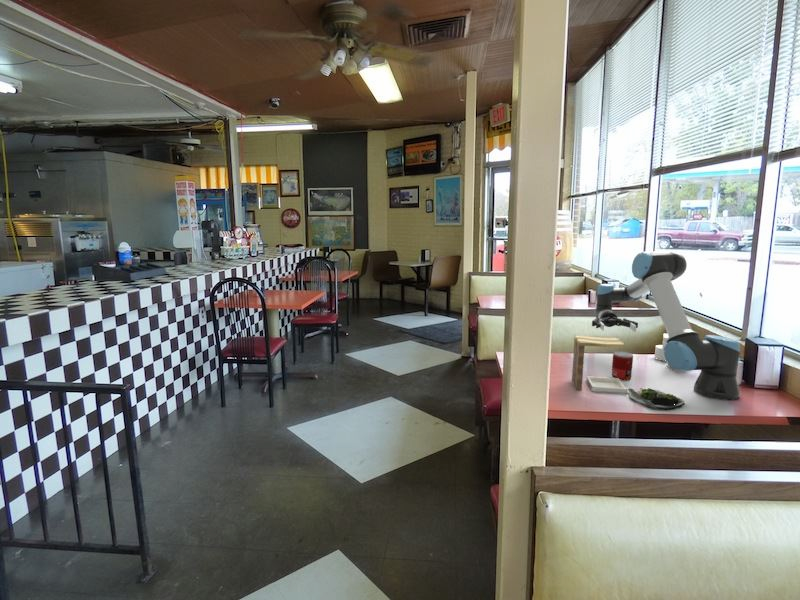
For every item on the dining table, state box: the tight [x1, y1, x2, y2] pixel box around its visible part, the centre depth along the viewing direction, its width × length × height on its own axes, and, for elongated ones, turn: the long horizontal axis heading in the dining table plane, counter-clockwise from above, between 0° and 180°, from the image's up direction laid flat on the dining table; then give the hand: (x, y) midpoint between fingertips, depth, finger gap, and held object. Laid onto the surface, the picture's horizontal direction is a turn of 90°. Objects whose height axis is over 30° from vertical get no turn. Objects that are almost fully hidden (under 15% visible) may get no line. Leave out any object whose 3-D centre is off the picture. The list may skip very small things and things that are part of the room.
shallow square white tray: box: [585, 375, 628, 395], centre depth 190 cm, size 13×13×2 cm
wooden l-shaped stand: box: [571, 334, 626, 391], centre depth 189 cm, size 12×17×20 cm
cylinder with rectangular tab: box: [654, 333, 669, 361], centre depth 227 cm, size 9×9×12 cm
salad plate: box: [627, 387, 685, 411], centre depth 176 cm, size 19×18×5 cm
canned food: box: [611, 350, 634, 381], centre depth 200 cm, size 8×8×11 cm
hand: (619, 328), depth 207 cm, fingers open, 13 cm apart
